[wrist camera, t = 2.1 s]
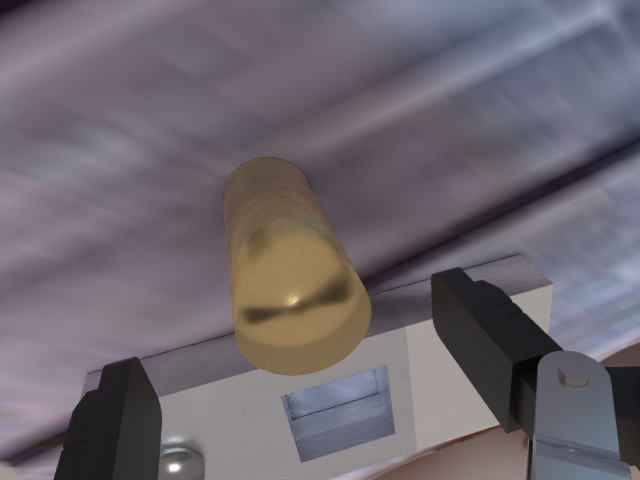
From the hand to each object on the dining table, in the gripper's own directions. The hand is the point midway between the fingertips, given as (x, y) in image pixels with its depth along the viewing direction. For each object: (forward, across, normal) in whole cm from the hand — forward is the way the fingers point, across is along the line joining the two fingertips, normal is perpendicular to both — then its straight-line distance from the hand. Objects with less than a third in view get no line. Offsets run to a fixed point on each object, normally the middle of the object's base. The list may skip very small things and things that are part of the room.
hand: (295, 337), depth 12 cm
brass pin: (+10, -1, 0) cm, 10 cm away
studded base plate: (+10, -2, +12) cm, 16 cm away
